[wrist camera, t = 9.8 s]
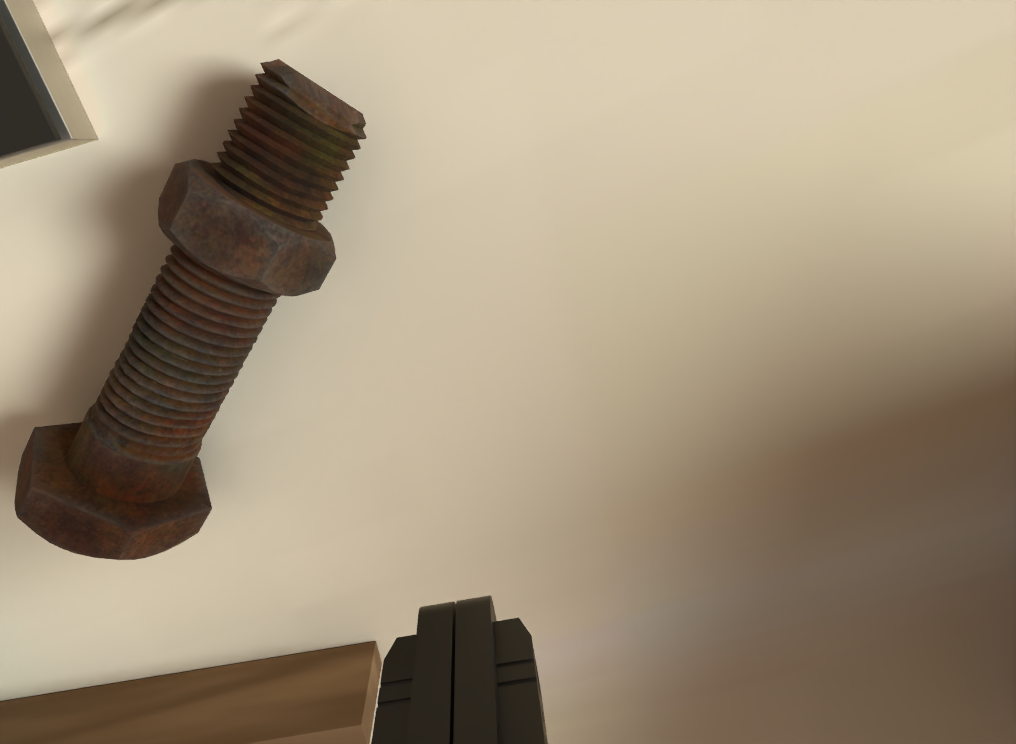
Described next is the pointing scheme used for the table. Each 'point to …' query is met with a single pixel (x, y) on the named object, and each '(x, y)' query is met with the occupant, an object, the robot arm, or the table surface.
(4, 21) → the picture frame
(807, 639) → the table surface
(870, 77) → the table surface
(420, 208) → the table surface
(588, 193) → the table surface
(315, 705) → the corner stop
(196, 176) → the bolt
